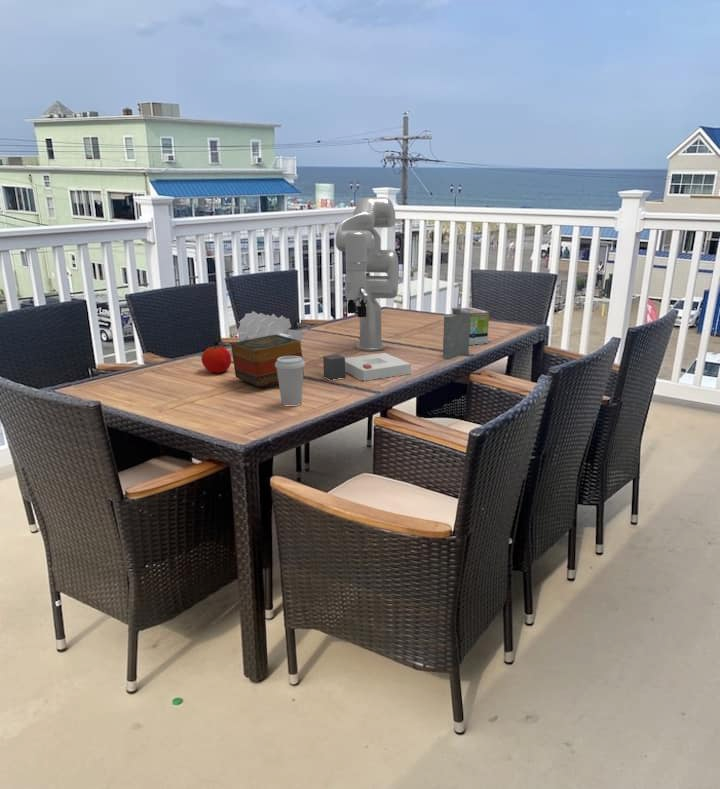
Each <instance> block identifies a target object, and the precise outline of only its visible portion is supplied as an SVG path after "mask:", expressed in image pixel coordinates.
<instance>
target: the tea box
mask: <svg viewBox="0 0 720 789" xmlns="http://www.w3.org/2000/svg"><path fill="white" fill-rule="evenodd" d="M460 308H461V310H460V312H461V311H462V312H464V311H468V312H470V330H469V346H473V345H475V344H478V345H485V344H484V343H486V344H488V340H489V339H488V338H489V324H490V323H489V322H490V321H489V319H490V312H489V311H488V310H483V309H479V308H475V307H470V306H469V307H460ZM475 346H476V345H475Z"/></svg>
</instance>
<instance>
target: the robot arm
mask: <svg viewBox="0 0 720 789" xmlns="http://www.w3.org/2000/svg"><path fill="white" fill-rule="evenodd" d="M395 222H396V212H395V208H394V205H393V202H392V200H391V199H390V198H388V197H385V196H377V197H375V196H373V197H370V196H369V197H362V198H360V199H359V200H358V201H357V203H356V205H355V209H354V210H353V215H351V216H350V217H348V218H347V219H346V218H345V219H344V220H343V221H342V222H341V223H340V224H339V225H338V226H337V227H338V228H337V230H336V235H335V239H334V240H335V243H334V244H335V248H336V249H337V250H338V251H339V252H343V253H345V272H346V273H345V283H344V288H345V289H344V296H345V298H346V302H347V305H346V306H347V307H346V308H347V309H346V310H347V314H356V312H357V318H359V337H358V341H359V343H358V344H356V349H357V350H359V351H364V352H377V351H382V350H384V349H385V348H386V345H385V344H384V343H382V307H381V305H380V303H379V302H378V301H377V300H376V299H395V298H396V297H397V296H398V290H399V256H398V254H397V252H396V251H395V250H392V249H382V248H381V245H382V238H381V236H380V234H379V232H378V231H377V229H378V228H380V229H383V228H385V229H386V228H391V227H393V226H394V225H395ZM376 228H377V229H376ZM366 273H379V274H381V273H382V274H387V275H366Z"/></svg>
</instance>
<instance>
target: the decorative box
mask: <svg viewBox="0 0 720 789" xmlns="http://www.w3.org/2000/svg"><path fill="white" fill-rule="evenodd" d="M230 346H231V352H232V353H231V354H232V362H233V367H234V375H235V377H236V378H238V379H240V380H241V381H244V382H246V383H248V384H250V385H253V384H254V386H256V387H258V388H266V387H270V386H273V385H277V384H279V381H278V374H277V368H276V367H275V363H276V362H277V359H278V358H279V357H283V356H299V357H302V358H303V353H302V352H303V351H302V341H301V342H300V341H299V340H295V339H291V338H287V337H284V336H280V335H270V336H265V337H260V338H255V339H251V340H245V341H240V342H239V341H237V342H236V341H235V342H232V343H231V344H230ZM303 376H305V370H303Z"/></svg>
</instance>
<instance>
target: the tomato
mask: <svg viewBox="0 0 720 789" xmlns="http://www.w3.org/2000/svg"><path fill="white" fill-rule="evenodd" d="M201 362H202V365H203V367H204V369H206V370H207V371H208V372H211V373H213V372H214V374H220V372H221V373H223V371H224V372H226V371H227V370H228V369H229V368H230V366H231V364H232V357H231V354H230V352H229V350H228V349H226V348H225V347H224V346H223V345H222V346H221V345H220V346H218V345H213V346H211V345H209V347H208V348H206V349H205V350H204V352H202V355H201Z"/></svg>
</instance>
